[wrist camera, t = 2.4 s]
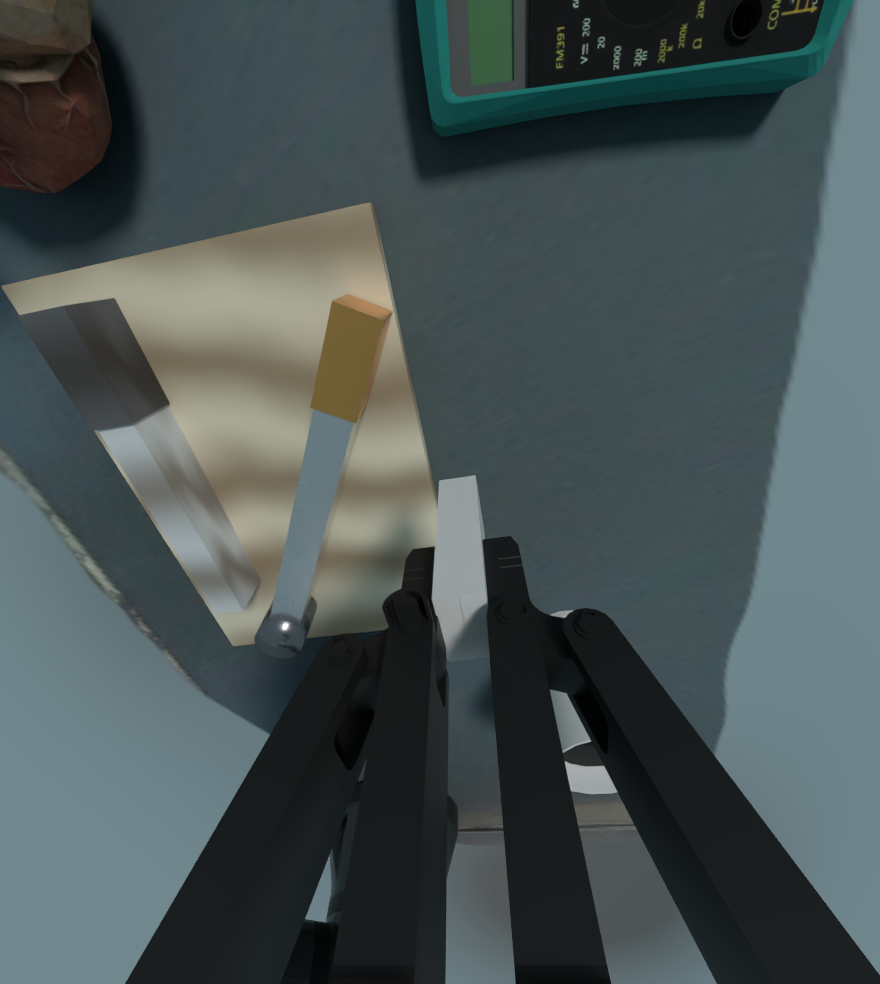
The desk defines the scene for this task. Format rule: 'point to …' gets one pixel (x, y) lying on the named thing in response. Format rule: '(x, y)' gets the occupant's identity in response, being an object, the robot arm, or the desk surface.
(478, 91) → the digital multimeter
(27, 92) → the anatomical model
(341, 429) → the bar
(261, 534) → the board
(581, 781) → the white coffee cup
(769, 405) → the desk surface
